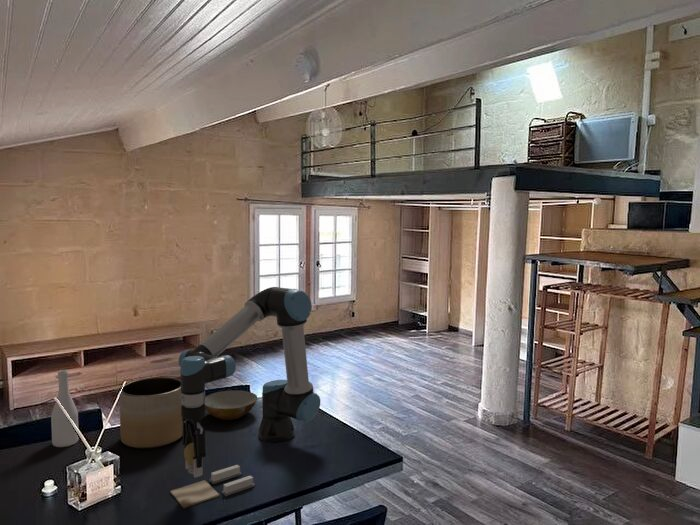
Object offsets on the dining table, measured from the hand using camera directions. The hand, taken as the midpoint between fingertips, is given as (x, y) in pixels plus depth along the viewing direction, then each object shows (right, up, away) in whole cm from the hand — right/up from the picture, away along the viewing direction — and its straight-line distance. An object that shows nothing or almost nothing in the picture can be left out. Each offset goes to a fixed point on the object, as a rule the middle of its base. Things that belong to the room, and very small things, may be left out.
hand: (194, 471), depth 174 cm
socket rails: (+11, -7, +8) cm, 15 cm away
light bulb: (0, 0, 0) cm, 0 cm away
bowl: (-4, -2, +70) cm, 70 cm away
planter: (-30, -4, +45) cm, 55 cm away
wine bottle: (-64, -4, +39) cm, 75 cm away
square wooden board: (0, -8, +1) cm, 8 cm away
